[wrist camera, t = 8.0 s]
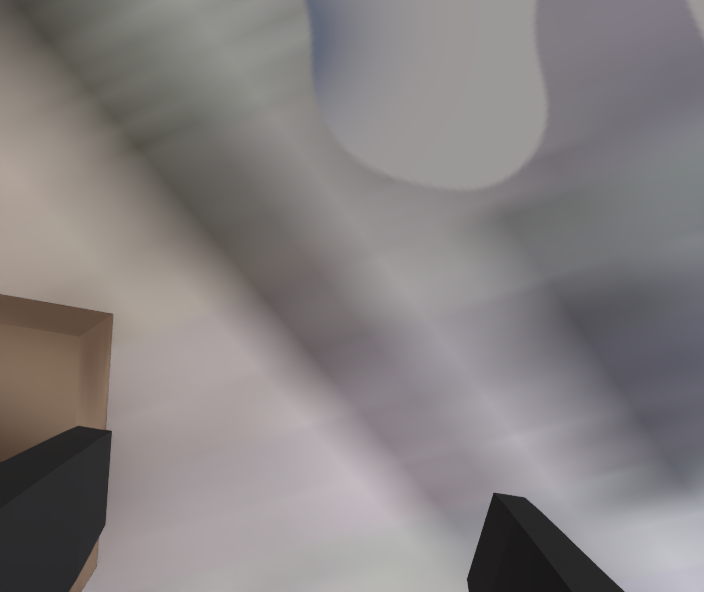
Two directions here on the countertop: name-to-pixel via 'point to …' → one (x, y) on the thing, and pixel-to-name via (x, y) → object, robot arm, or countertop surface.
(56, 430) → the stand
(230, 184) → the countertop surface
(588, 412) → the countertop surface
